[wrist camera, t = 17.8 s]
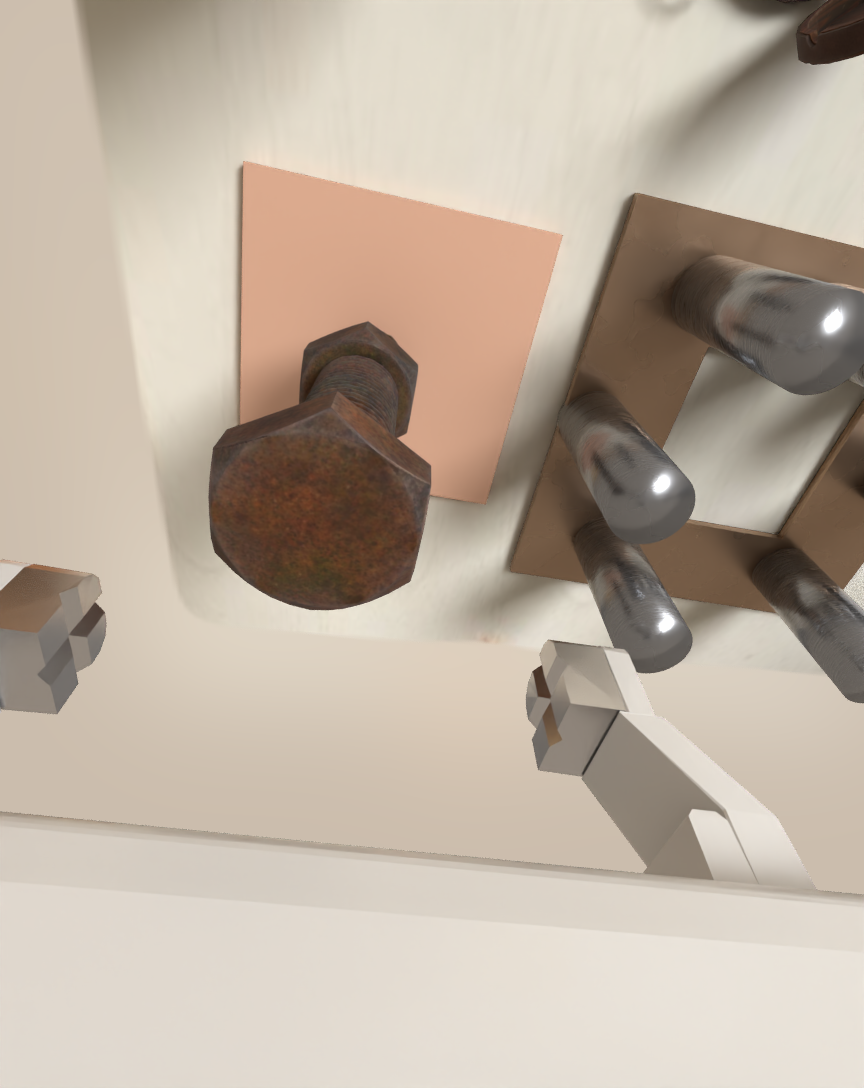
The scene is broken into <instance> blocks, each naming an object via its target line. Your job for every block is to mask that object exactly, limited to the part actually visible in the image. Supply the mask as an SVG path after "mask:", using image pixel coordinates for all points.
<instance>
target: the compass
mask: <svg viewBox="0 0 864 1088" xmlns="http://www.w3.org/2000/svg"><path fill="white" fill-rule="evenodd" d="M777 1H780V2H783V3H789V2H798V1H807V0H777ZM796 38H797V49H798V59H799V60H800V61H802V62H804V63H810V64H812V65H817V64H829V63H833V62H837V61H841V60H845V59H849V58H853V57H856V56H859V55H862V54H864V0H828V1H827V2H826V3H825V4H823V5H822V6H821V7H819V8H818V9H817V10H816V11H814V12H813V13H812V14H811V15H809V16H808V17H807V18H806V19H805V20H804V22H803V23H802V24H801V25H800V26H799V27H798V30H797V33H796Z"/></svg>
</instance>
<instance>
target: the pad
mask: <svg viewBox="0 0 864 1088" xmlns="http://www.w3.org/2000/svg"><path fill="white" fill-rule="evenodd" d="M562 236H563V235H561V234H557V233H553V232H549V231H544V230H540V229H536V228H531V227H527V226H523V225H518V224H514V223H510V222H505V221H501V220H497V219H492V218H488V217H484V216H479V215H475V214H471V213H467V212H462V211H458V210H454V209H449V208H445V207H441V206H436V205H432V204H428V203H423V202H419V201H415V200H410V199H406V198H402V197H397V196H393V195H389V194H384V193H380V192H376V191H371V190H367V189H363V188H358V187H354V186H350V185H345V184H341V183H337V182H333V181H328V180H324V179H320V178H315V177H311V176H307V175H302V174H298V173H294V172H289V171H285V170H281V169H276V168H272V167H268V166H263V165H259V164H255V163H250V162H246V161H243V226H242V303H241V380H240V425H241V424H244V423H247V422H250V421H253V420H256V419H258V418H261V417H264V416H267V415H270V414H273V413H275V412H278V411H281V410H284V409H287V408H290V407H293V406H295V405H298V404H299V391H300V378H301V367H302V360H303V353H304V349H305V348H306V346H307V345H308V344H309V343H310V342H312V341H315V340H317V339H319V338H321V337H324V336H326V335H328V334H331V333H334V332H336V331H339V330H341V329H344V328H347V327H350V326H353V325H356V324H360V323H364V322H367V321H369V322H370V323H372V324H373V325H374V326H376V327H377V328H378V329H380V330H381V331H383V332H385V333H386V334H388V335H391V336H392V337H393V338H394V339H395V341H396V342H397V344H398V345H399V346H400V347H401V348H402V349H403V350H404V351H405V352H406V353H407V354H408V355H409V356H410V357H411V358H412V359H413V360H414V361H415V362H416V363H417V364H418V376H417V382H416V388H415V394H414V400H413V405H412V410H411V416H410V421H409V426H408V430H407V434H405V435H403V436H401V437H399V438H397V439H399V440H400V441H401V442H402V443H404V444H405V445H406V446H408V447H409V448H410V449H411V450H413V451H414V452H415V453H416V454H418V455H419V456H420V457H421V458H423V459H424V460H425V461H426V462H428V463H429V464H430V465H431V491H430V495H433V496H439V497H445V498H450V499H456V500H462V501H468V502H474V503H480V504H486V502H487V499H488V495H489V492H490V488H491V485H492V481H493V478H494V474H495V471H496V467H497V464H498V460H499V457H500V453H501V450H502V446H503V443H504V439H505V436H506V432H507V429H508V425H509V422H510V418H511V415H512V411H513V408H514V404H515V401H516V397H517V394H518V390H519V387H520V383H521V380H522V376H523V373H524V369H525V366H526V362H527V359H528V355H529V352H530V348H531V345H532V341H533V338H534V334H535V331H536V327H537V324H538V320H539V317H540V313H541V310H542V306H543V303H544V299H545V296H546V292H547V289H548V285H549V282H550V278H551V275H552V271H553V268H554V264H555V261H556V257H557V254H558V250H559V247H560V243H561V240H562Z"/></svg>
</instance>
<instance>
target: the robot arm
mask: <svg viewBox="0 0 864 1088" xmlns="http://www.w3.org/2000/svg"><path fill="white" fill-rule="evenodd" d="M101 593H102V591H101V586H100V581H99V578H98V577H97V576H95V575H94V574H91V573H85V572H79V571H72V570H67V569H61V568H55V567H49V566H43V565H37V564H27V563H22V562H16V561H10V560H4V559H3V560H0V713H1V709H5V710H15V711H26V712H38V713H50V714H58V712H59V711H60V709H61V708H62V706H63V705H64V704H65V702H66V701H67V699H68V698H69V696H70V695H71V694H72V692H73V691H74V689H75V688H76V686H77V685H78V680H77V674H76V672H78V671H79V670H82V669H83V668H85V667H87V666H89V665H91V664H92V663H93V661H94V660H95V658H96V657H97V655H98V654H99V652H100V650H101V647H102V644H103V641H104V638H105V633H106V617H105V612H104V611H103V610H102V609H101V608H100V607H99V606H98V605H97V604H96V603H95V601H96V600H97V599H98V597H99V596H100V595H101ZM540 659H541V663H542V665H541V666H540V667H538V668H537V669H535V670H534V671H533V672H532V674H531V677H530V680H529V682H528V687H527V694H526V709H527V715H528V720H529V721H530V722H531V723H532V724H533V725H534V726H535V727H536V729H537V730H536V732H535V734H534V736H533V739H532V742H533V746H534V752H535V757H536V762H537V766H538V770H540V771H547V772H554V773H561V774H569V775H575V776H582V780H583V781H584V782H585V784H586V785H587V787H588V788H589V789H590V791H591V792H592V793H593V794H594V796H595V797H596V799H597V800H598V801H599V803H600V804H601V805H602V807H603V808H604V809H605V811H606V812H607V813H608V815H609V816H610V817H611V818H612V820H613V821H614V823H615V824H616V825H617V827H618V828H619V829H620V831H621V832H622V833H623V835H624V836H625V837H626V839H627V840H628V841H629V843H630V844H631V845H632V847H633V848H634V849H635V851H636V852H637V853H638V855H639V856H640V857H641V859H642V860H643V861H644V863H645V864H646V865H647V869H646V870H645V871H644V872H643V873H634V872H624V871H613V870H603V869H593V868H582V867H571V866H562V865H552V864H541V863H531V862H520V861H510V860H500V859H489V858H478V857H467V856H457V855H447V854H436V853H425V852H415V851H404V850H393V849H383V848H373V847H362V846H351V845H341V844H331V843H321V842H310V841H300V840H289V839H279V838H268V837H259V836H249V835H238V834H228V833H217V832H208V831H197V830H187V829H176V828H165V827H156V826H144V825H134V824H125V823H114V822H104V821H93V820H83V819H73V818H63V817H52V816H42V815H31V814H21V813H11V812H0V1088H864V895H862V894H852V893H842V892H831V891H820V890H817V889H816V887H815V885H814V884H813V882H812V880H811V878H810V876H809V874H808V873H807V871H806V869H805V867H804V865H803V863H802V862H801V860H800V858H799V856H798V854H797V853H796V851H795V849H794V847H793V845H792V843H791V842H790V840H789V838H788V836H787V834H786V833H785V831H784V829H783V827H782V825H781V824H780V822H779V820H778V818H777V817H776V816H775V815H774V814H773V813H772V812H771V811H769V810H768V809H767V808H766V807H765V806H764V805H763V804H762V803H761V802H759V801H758V800H757V799H756V798H755V797H754V796H752V795H751V794H750V793H749V792H748V791H747V790H746V789H745V788H743V787H742V786H741V785H740V784H739V783H738V782H736V781H735V780H734V779H733V778H732V777H731V776H730V775H729V774H728V773H726V772H725V771H724V770H723V769H722V768H721V767H720V766H718V765H717V764H716V763H715V762H714V761H713V760H712V759H711V758H709V757H708V756H707V755H706V754H705V753H704V752H703V751H701V750H700V749H699V748H698V747H697V746H696V745H695V744H693V743H692V742H691V741H690V740H689V739H688V738H687V737H685V736H684V735H683V734H682V733H681V732H680V731H679V730H677V729H676V728H675V727H674V726H673V725H672V724H671V723H669V722H668V721H667V720H666V719H665V718H664V717H660V716H656V715H655V713H654V711H653V709H652V706H651V704H650V702H649V699H648V697H647V695H646V693H645V691H644V688H643V686H642V684H641V681H640V679H639V677H638V674H637V672H636V670H635V667H634V665H633V663H632V661H631V658H630V656H629V654H628V653H627V652H626V651H625V650H624V649H618V648H610V647H602V646H598V647H596V646H591V645H583V644H576V643H569V642H562V641H554V640H548V641H547V642H546V643H545V644H544V645H543V648H542V650H541V652H540Z"/></svg>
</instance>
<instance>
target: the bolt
mask: <svg viewBox="0 0 864 1088" xmlns="http://www.w3.org/2000/svg"><path fill="white" fill-rule="evenodd" d="M417 376H418V364H417V363H416V362H415V361H414V360H413V359H412V358H411V357H410V356H409V355H408V354H407V353H406V352H405V351H404V350H403V349H402V348H401V347H400V346H399V345H398V344H397V342H396V341H395V339H394V338H393V337H392V336H391V335H388V334H386V333H385V332H383V331H381V330H380V329H378V328H377V327H376V326H374V325H373V324H372V323H370V322H369V321H367V322H364V323H360V324H356V325H353V326H350V327H347V328H344V329H341V330H339V331H336V332H334V333H331V334H328V335H326V336H324V337H321V338H319V339H317V340H315V341H312V342H310V343H309V344H308V345H307V346H306V348H305V349H304V353H303V360H302V367H301V378H300V391H299V404H298V405H295V406H293V407H290V408H287V409H284V410H281V411H278V412H275V413H273V414H270V415H267V416H264V417H261V418H258V419H256V420H253V421H250V422H247V423H244V424H241V425H238V426H236V427H233V428H230V429H227V430H226V431H225V433H224V434H223V435H222V437H221V438H220V439H219V441H218V442H217V443H216V445H215V446H214V447H213V454H212V462H211V471H210V482H209V516H210V532H211V539H212V543H213V547H214V551H215V553H216V554H217V555H218V556H219V557H220V558H221V559H222V560H223V561H224V562H225V563H226V564H227V565H228V566H229V567H230V568H231V569H232V570H233V571H234V572H235V573H236V574H237V575H239V576H240V577H241V578H242V579H244V580H245V581H246V582H247V583H249V584H250V585H252V586H253V587H255V588H256V589H258V590H259V591H261V592H263V593H265V594H266V595H268V596H270V597H272V598H274V599H277V600H279V601H282V602H284V603H287V604H289V605H293V606H297V607H301V608H305V609H309V610H335V609H344V608H348V607H352V606H357V605H360V604H364V603H367V602H370V601H372V600H375V599H377V598H379V597H382V596H384V595H386V594H389V593H390V592H392V591H394V590H396V589H398V588H399V587H401V586H403V585H405V584H407V583H409V582H410V581H411V578H412V575H413V572H414V569H415V564H416V560H417V556H418V552H419V547H420V543H421V539H422V535H423V530H424V525H425V520H426V515H427V509H428V503H429V497H430V491H431V465H430V464H429V463H428V462H426V461H425V460H424V459H423V458H421V457H420V456H419V455H418V454H416V453H415V452H414V451H413V450H411V449H410V448H409V447H408V446H406V445H405V444H404V443H402V442H401V441H400V440H399V439H397V438H399V437H401V436H403V435H405V434H407V430H408V426H409V421H410V416H411V410H412V405H413V400H414V394H415V388H416V382H417Z"/></svg>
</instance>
